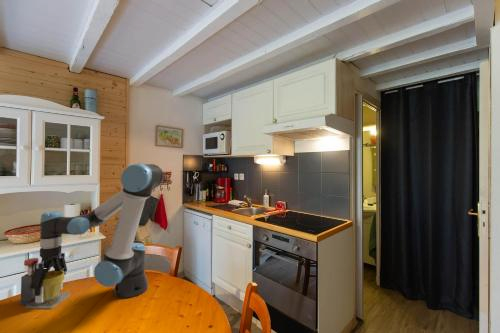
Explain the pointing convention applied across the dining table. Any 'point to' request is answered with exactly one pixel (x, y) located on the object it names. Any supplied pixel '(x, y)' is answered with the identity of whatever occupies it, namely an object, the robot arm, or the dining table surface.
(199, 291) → the dining table surface
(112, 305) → the dining table surface
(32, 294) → the press base
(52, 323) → the dining table surface
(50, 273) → the plant pot
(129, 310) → the dining table surface
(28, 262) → the ram
